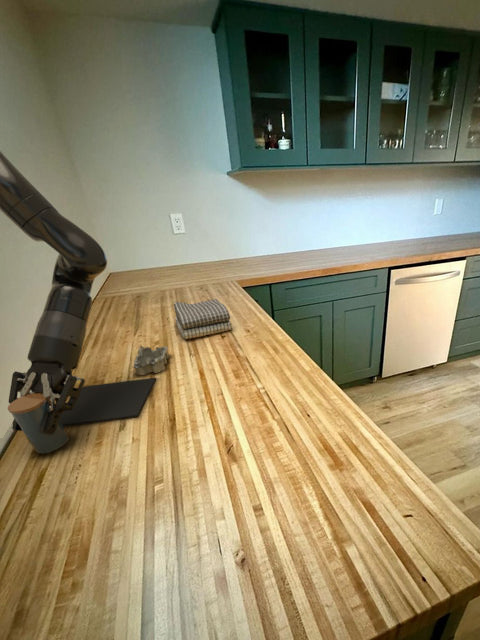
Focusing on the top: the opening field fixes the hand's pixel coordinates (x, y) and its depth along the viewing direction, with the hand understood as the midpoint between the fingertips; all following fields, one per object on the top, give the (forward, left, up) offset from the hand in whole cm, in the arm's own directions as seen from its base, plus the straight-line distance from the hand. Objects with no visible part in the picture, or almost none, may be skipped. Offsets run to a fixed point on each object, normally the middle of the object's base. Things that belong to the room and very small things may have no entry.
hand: (33, 431), depth 59 cm
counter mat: (+6, +15, -5) cm, 17 cm away
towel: (+22, +54, -5) cm, 58 cm away
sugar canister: (+1, +2, -4) cm, 5 cm away
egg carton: (+12, +31, -5) cm, 33 cm away
